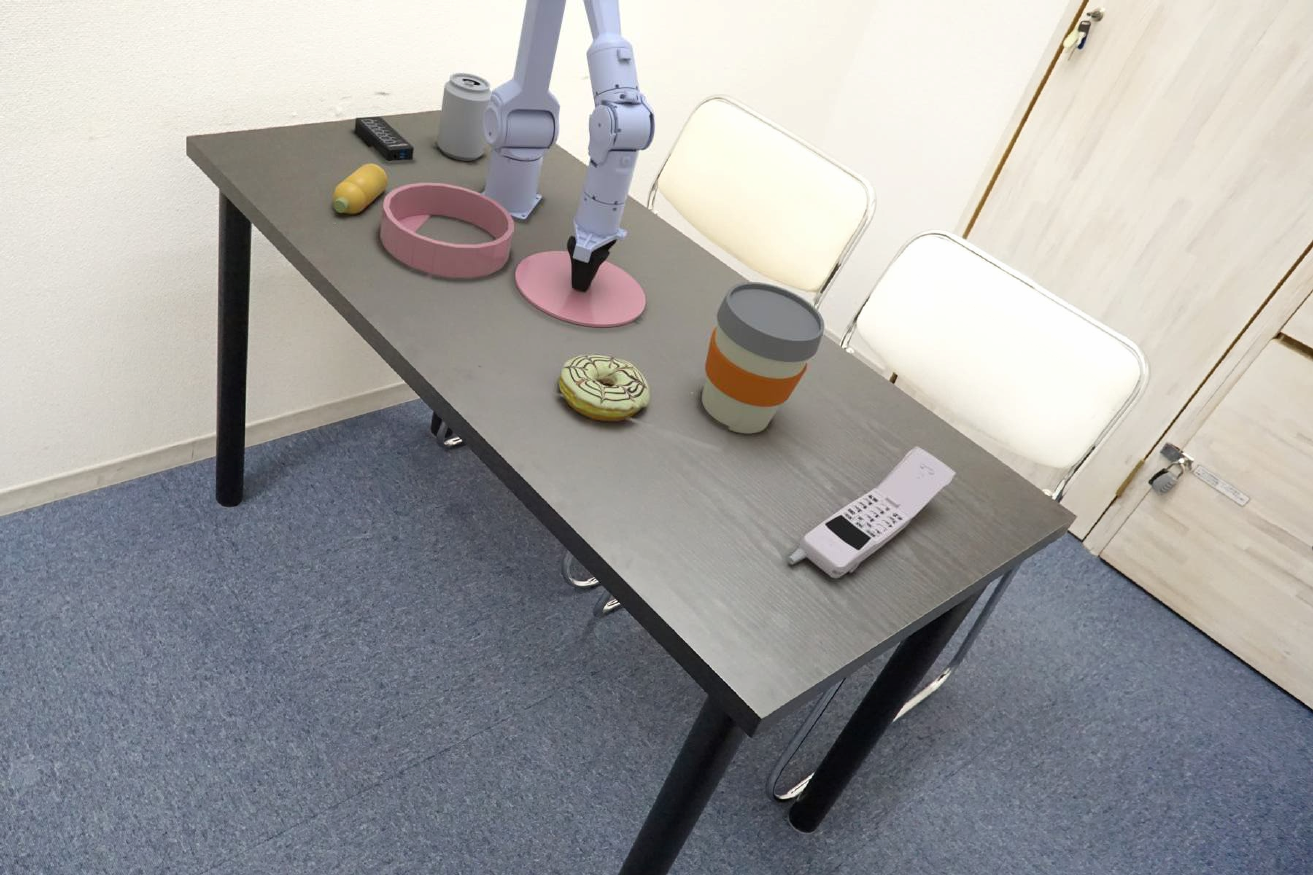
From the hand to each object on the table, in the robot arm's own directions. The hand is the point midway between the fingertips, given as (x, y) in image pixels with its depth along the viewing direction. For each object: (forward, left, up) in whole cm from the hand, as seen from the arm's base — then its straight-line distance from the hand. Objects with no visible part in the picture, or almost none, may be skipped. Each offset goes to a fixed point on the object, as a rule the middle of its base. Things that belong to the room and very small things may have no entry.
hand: (582, 284), depth 130 cm
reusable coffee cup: (+15, +24, -2) cm, 29 cm away
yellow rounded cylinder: (-4, -34, -1) cm, 34 cm away
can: (-30, -29, -2) cm, 41 cm away
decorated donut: (+22, +8, -2) cm, 24 cm away
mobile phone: (+30, +42, -2) cm, 51 cm away
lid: (0, 0, -1) cm, 1 cm away
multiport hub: (-23, -39, -2) cm, 45 cm away
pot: (0, -20, -1) cm, 20 cm away
